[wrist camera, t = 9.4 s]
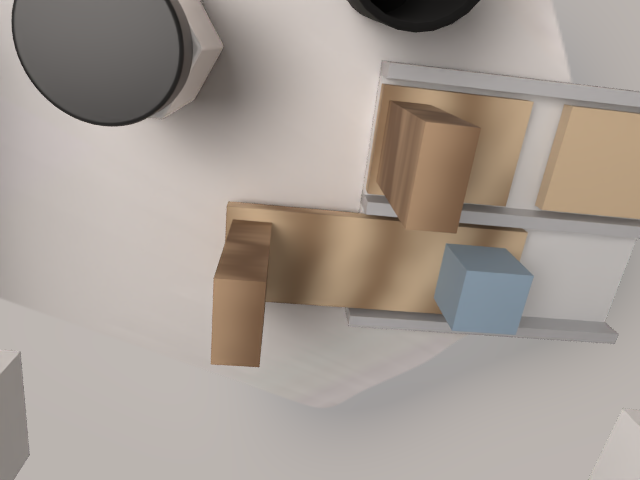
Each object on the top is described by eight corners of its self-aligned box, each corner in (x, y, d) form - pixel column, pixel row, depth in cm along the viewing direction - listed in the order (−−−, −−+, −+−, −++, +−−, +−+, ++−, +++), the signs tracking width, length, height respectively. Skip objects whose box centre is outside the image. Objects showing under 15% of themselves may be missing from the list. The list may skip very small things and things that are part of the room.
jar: (72, 6, 33) (-37, -10, 22) (174, -53, 32) (113, -101, 21) (146, 125, 37) (83, 161, 25) (241, 74, 36) (218, 90, 24)
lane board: (344, 308, 44) (348, 326, 41) (382, 60, 36) (389, 62, 33) (595, 325, 46) (614, 343, 43) (681, 96, 38) (712, 100, 35)
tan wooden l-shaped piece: (224, 291, 41) (202, 377, 30) (228, 201, 38) (205, 262, 27) (497, 311, 43) (562, 396, 33) (521, 227, 40) (601, 292, 30)
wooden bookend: (365, 189, 38) (393, 244, 28) (381, 83, 35) (420, 101, 25) (499, 201, 39) (574, 259, 29) (526, 99, 36) (620, 123, 26)
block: (433, 297, 41) (451, 330, 36) (446, 243, 39) (466, 270, 34) (490, 301, 41) (515, 334, 37) (505, 248, 39) (534, 275, 35)
